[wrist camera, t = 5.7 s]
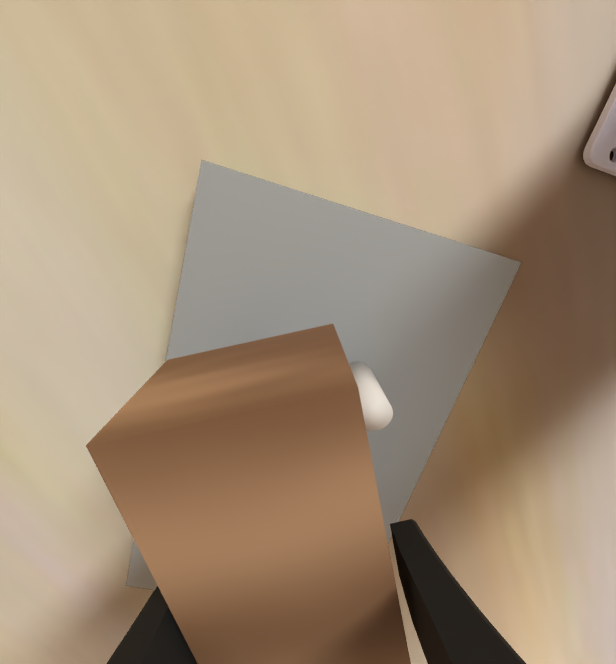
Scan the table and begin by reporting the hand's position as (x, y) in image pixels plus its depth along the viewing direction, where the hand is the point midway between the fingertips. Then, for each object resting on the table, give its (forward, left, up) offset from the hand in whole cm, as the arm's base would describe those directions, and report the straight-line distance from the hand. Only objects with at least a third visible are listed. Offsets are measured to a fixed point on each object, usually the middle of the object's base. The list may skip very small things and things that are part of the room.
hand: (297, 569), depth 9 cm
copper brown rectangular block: (0, 0, -2) cm, 2 cm away
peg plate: (0, 0, -7) cm, 7 cm away
